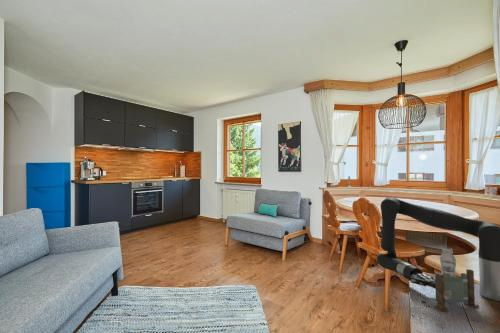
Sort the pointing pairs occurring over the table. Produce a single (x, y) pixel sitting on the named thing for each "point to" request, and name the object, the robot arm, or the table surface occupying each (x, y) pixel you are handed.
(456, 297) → the gate
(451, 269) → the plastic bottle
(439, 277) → the post
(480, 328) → the table surface
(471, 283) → the hinge post
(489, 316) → the table surface
